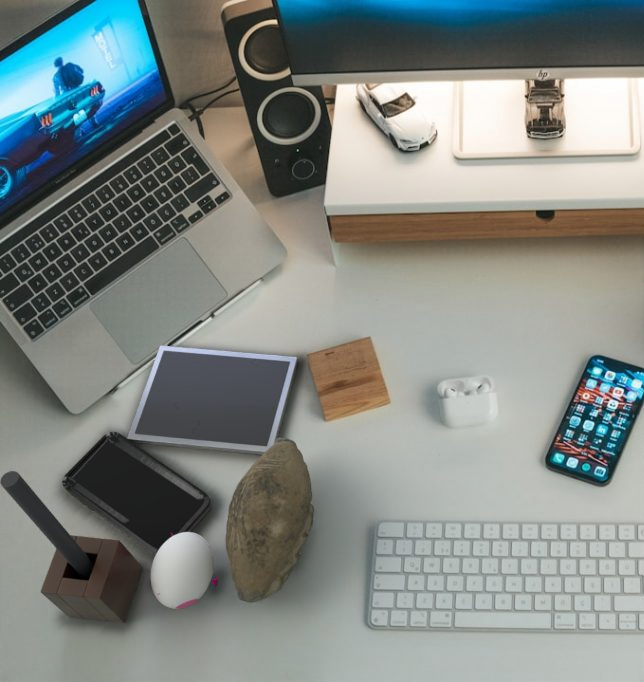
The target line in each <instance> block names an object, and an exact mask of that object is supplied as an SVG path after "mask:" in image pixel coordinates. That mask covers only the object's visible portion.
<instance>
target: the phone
mask: <svg viewBox="0 0 644 682" xmlns="http://www.w3.org/2000/svg"><path fill="white" fill-rule="evenodd" d="M61 484H62V487H63V488H64V489H65V490H66V491H67V492H68V493H69V494H70V495H71V496H72V497H73V498H75V499H77V500H78V501H79V502H80V503H81V504H83V505H84V506H86V508H88V509H90V510H91V511H92V512H95V514H97V515H98V516H100V517H101V518H103V519H104V520H105V521H107V522H108V523H110V524H111V525H112V526H114V527H115V528H116V529H117V530H119V531H120V532H122V533H123V534H125V535H126V536H127V537H128V538H130V539H131V540H132V541H134V542H135V543H137V544H138V545H139V546H141V547H142V548H144V549H145V550H146V551H148V552H149V553H151V555H153V556H154V557H155V556H156V554H157V552H158V550H159V549H160V547H161V546H162V545H163V544H164V543H165V542H166V541H167V540H168V539H169V538H171V537H172V534H173V536H174V535H176V534H179V533H183V532H192V531H193V530H194V529H195V528H196V526H198V525H199V523H200V522H201V521H203V519H204V518H205V517H206V515H207V514H208V513H209V512H210V511H211V509H212V506H213V502H212V500H211V498H210V497H209V495H208V493H206V492H205V491H203V489H201V488H199V487H198V486H197V485H195V484H194V483H192V482H191V481H189V480H188V479H187V478H185V477H184V476H182V475H181V474H179V473H178V472H176V471H175V470H173V469H172V468H171V467H169V466H168V465H166V464H164V463H163V462H162V461H160V460H159V459H157V458H156V457H155V456H154V455H152V454H150V453H149V452H147V451H146V450H144V449H143V448H142V447H140V446H139V445H137V443H134V442H131V441H130V440H128V439H127V437H125V436H124V435H123V434H121V433H119V432H117V431H109V432H106V433H105V434H104V435H103V436H102V437H101V438H100V439H99V440H98V441H97V442H95V444H94V445H93V446H92V447H91V448H90V449H89V450H88V451H87V452H85V454H84V455H83V456H82V457H81V458H80V459H79V460H78V461H77V462H76V463H75V464H74V465H73V466H72V467H71V468H70V469H69V470H68V471H67V472H66V473H65V474H64V476H63V477H62V479H61ZM171 533H172V534H171Z"/></svg>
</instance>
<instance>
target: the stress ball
mask: <svg viewBox="0 0 644 682" xmlns="http://www.w3.org/2000/svg"><path fill="white" fill-rule="evenodd" d="M171 534H172V533H171ZM214 568H215V560H214V553H213V550H212V547H211V545H210V544H209V542H208V541H207V540H206V539H205V538H204V537H203V536H202V535H200V534H199V533H196V532H192V531H191V532H183V533H179V534H176V535H174V536H173V534H172V537H171V538H169V539H168V540H167V541H166V542H165V543H164V544H163V545H162V546H161V547H160V549H159V550H158V552H157V554H156V556H155V555H154V559H153V560H152V564H151V569H150V586H151V590H152V593H153V595H154V597H155V598H156V599H157V600H158V602H159V603H160V604H161V605H163V606H164V607H166V608H170V609H174V610H179V609H184V608H187V607H189V606H191V605H194V604H195V603H196V602H198V600H200V599H201V598H202V596H203V595H204V594H205V593H206V591H207V590H208V587H209V586H210V584H211V583H212V584H213V585H214V587H215V588H216V587H217V584H218V576H217V577H216V578H213V574H214ZM212 578H213V579H212Z"/></svg>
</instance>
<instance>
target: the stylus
mask: <svg viewBox="0 0 644 682" xmlns="http://www.w3.org/2000/svg"><path fill="white" fill-rule="evenodd" d="M0 486H1V487H2V488H3V489H4V490H5V491H6V493H7V494H8V495H9V496H10V497H11V498H12V500H13V501H14V502H15V503H16V504H17V506H18V507H20V509H21V510H22V511H23V512H24V513H25V515H27V517H28V518H29V519H30V520H31V521H32V523H34V525H35V526H36V527H37V528H38V529H39V530H40V532H41V533H42V534H43V535H44V536H45V537H46V538H47V540H48V541H49V542H50V543H51V544H52V545H53V546H54V548H55V550H56V549H57V550H58V551H59V552H60V553H61V554H62V555H63V557H64V558H65V559H66V560H67V561H68V562H69V563H70V565H71V566H72V567H73V568H74V569H75V570H76V571H77V573H78V574H79V575H80V576H81V577H82V578H83V580H88V581H89V579H90V576H91V573H92V571H93V568H94V565H95V564H94V563H93V562H92V561H91V560H90V558H89V557H88V556H87V555H86V554H85V552H84V551H83V550H82V549H81V548H80V546H79V545H78V544H77V543H76V542H75V540H74V539H73V538H72V537H71V536H70V535H71V534H70V533H69V532H68V531H67V529H65V527H64V526H63V525H62V523H60V521H59V520H58V518H57V517H56V516H55V515H54V513H52V512H51V510H50V509H49V508H48V507H47V505H46V504H45V503H44V502H43V501H42V500H41V498H40V497H39V496H38V495H37V493H36V492H35V491H34V490H33V489H32V487H31V486H30V485H29V484H28V483H27V481H26V480H25V479H24V478H23V477H22V475H21V474H20V473H19V472H18V471H15V470H10V471H9V470H8V471H7V472H5V473H4V474H3V475H2V476H1V477H0Z"/></svg>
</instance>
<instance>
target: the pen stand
mask: <svg viewBox="0 0 644 682" xmlns="http://www.w3.org/2000/svg"><path fill="white" fill-rule="evenodd" d="M70 536H71V537H72V538H73V539H74V540H75V542H76V543H77V544H78V545H79V546H80V548H81V549H82V550H83V551H84V552H85V554H86V555H87V556H88V557H89V558H90V560H91V561H92V562H93V563H94V564H95V565H94V568H93V571H92V573H91V576H90V579H89V581H88V580H83V578H82V577H81V576H80V575H79V574H78V573H77V571H76V570H75V569H74V568H73V567H72V566H71V565H70V563H69V562H68V561H67V560H66V559H65V558H64V557H63V555H62V554H61V553H60V552H59V551H58V550H57V549H56V548H55V551H54V554H53V557H52V559H51V561H50V564H49V567H48V570H47V571H46V575H45V578H44V581H43V583H42V586H41V588H40V592H39V593H40V594H42V595H43V596H44V597H45V598H46V599H48V601H50V603H52V604H53V605H54V606H55V607H56V608H58V609H59V610H60V611H61V612H62V613H64V615H65V616H66V617H68V618H75V619H84V620H92V621H101V622H110V623H117V624H125V623H126V621H127V618H128V614H129V612H130V608H131V605H132V603H133V599H134V596H135V593H136V590H137V586H138V584H139V581H140V578H141V574H142V571H143V565H141V563H140V562H139V561H138V559H136V558H135V556H134V555H133V554H132V553H131V551H129V549H128V548H127V547H126V546H125V545H124V544H123V543H122V541H121V540H120V539H114V538H113V539H112V538H111V539H110V538H101V537H91V536H83V535H73V534H70Z"/></svg>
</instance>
